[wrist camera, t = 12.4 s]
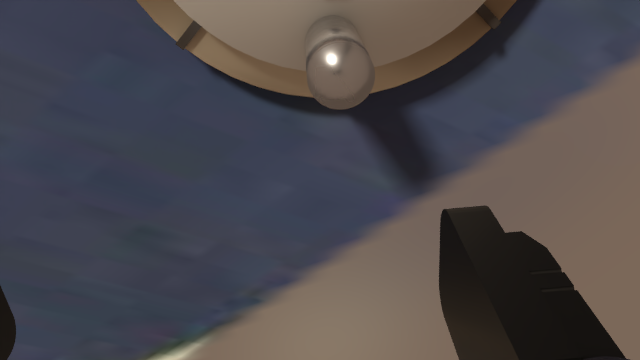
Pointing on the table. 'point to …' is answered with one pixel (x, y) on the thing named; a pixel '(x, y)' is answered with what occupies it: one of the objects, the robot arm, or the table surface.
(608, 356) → the robot arm
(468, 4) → the dial
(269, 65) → the dial base
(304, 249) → the table surface
